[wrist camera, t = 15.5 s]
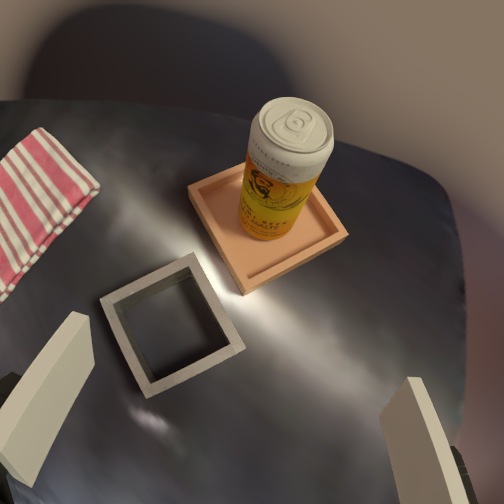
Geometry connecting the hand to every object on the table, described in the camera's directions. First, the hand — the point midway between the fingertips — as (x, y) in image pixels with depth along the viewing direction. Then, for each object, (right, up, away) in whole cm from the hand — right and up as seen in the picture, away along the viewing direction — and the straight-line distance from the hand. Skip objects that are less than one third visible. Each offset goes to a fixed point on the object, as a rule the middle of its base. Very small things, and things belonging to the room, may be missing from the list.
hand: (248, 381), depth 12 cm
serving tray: (+2, +9, +24) cm, 25 cm away
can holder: (-8, -3, +19) cm, 20 cm away
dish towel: (-31, +9, +21) cm, 39 cm away
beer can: (+2, +9, +23) cm, 25 cm away
